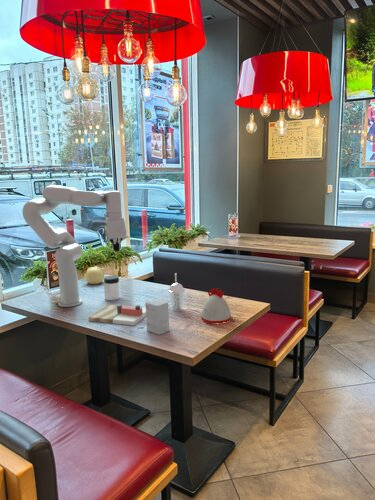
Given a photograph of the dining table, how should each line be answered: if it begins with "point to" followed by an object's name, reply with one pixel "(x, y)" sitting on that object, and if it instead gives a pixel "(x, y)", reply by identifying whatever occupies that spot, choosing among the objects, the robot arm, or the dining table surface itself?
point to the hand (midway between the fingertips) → (116, 251)
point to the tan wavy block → (106, 314)
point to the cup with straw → (176, 295)
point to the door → (129, 318)
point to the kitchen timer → (215, 308)
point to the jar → (111, 287)
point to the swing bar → (132, 310)
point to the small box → (157, 316)
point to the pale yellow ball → (95, 275)
